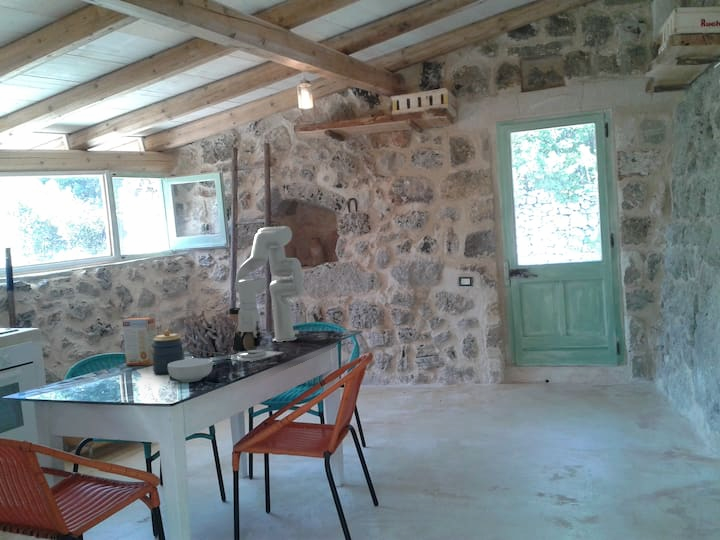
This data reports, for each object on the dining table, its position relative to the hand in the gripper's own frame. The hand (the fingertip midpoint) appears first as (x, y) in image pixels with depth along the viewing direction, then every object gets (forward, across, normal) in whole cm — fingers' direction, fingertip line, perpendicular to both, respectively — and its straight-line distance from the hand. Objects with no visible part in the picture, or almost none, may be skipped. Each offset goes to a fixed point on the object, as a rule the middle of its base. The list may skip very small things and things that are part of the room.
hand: (251, 345), depth 292 cm
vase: (+2, 0, 0) cm, 2 cm away
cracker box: (+5, -39, -30) cm, 50 cm away
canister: (+5, -11, -37) cm, 39 cm away
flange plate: (+5, 0, 0) cm, 5 cm away
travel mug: (+5, -21, +13) cm, 25 cm away
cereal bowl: (+5, +12, -45) cm, 47 cm away
